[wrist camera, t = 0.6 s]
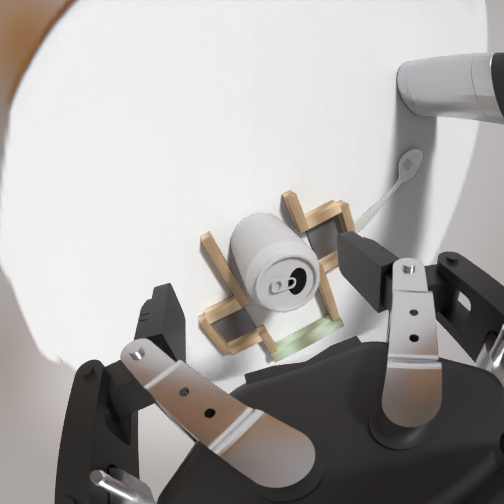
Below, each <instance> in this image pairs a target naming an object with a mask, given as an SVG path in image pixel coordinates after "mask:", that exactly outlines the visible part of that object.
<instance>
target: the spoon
mask: <svg viewBox="0 0 504 504" xmlns="http://www.w3.org/2000/svg"><path fill="white" fill-rule="evenodd" d="M407 159H408V160H409V161H410V162H411V166H410V168H409V170H406V169H405V167H404V162H405V161H406V160H407ZM422 160H423V152H422V151H421V150H420V149H412V150H410V151H408V152H406V153H405V154H404V155H403V156H402V157H401V159H400V161H399V165H398V170H399V179H398V181H397V182H396V184H395V185H394V186H393V187H392V188H391V189H390V190H389V191H388V192H387V193H386V194H385V195H384V197H383V198H382V199H380V200H379V201H378V202H377V203H376V204H374V205H373V206H372V207H371V208H370V209H368V210H367V211H366V212H365V213H364V214H363V215H362V216H361V217H360V218H359V219H358V220H357V221H356V222H355V224H354V226H355V230H356V233H358V232H360V231H361V230H362V229H363V228H364V227H365V226H366V225H367V224H368V222H369V221H370V220H371V219H372V218H373V216H374V215H375V214H376V213H377V212H378V210H379V209H380V208H381V207H382V205H383V204H384V203H385V202H386V200H387V199H388V198H389V197H390V196H391V195H392V193H393V192H394V191H395V190H396V189H397V188H398V187H399V186H400V185H401V184H402V183H404V182H406V181H409V180H411V178H412V177H413V176H414V175H415V173H416V171H417V170H418V168H419V167H420V165H421V163H422Z"/></svg>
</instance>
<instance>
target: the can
mask: <svg viewBox="0 0 504 504" xmlns="http://www.w3.org/2000/svg"><path fill="white" fill-rule="evenodd" d="M231 248H232V253H233V256H234V258H235V261H236V263H237V266H238V269H239V271H240V274H241V277H242V279H243V282H244V284H245V287H246V290H247V292H248V293H249V295H250V297H251V299H252V300H253V301H255V302H256V303H257V304H258V305H260V306H262V307H265V308H267V309H268V310H271V311H274V312H289V311H293V310H296V309H298V308H300V307H301V306H303V305H305V304H306V303H307V302H308V301H309V300H310V299H311V298H312V297H313V295H314V294H315V292H316V291H317V288H318V285H319V282H320V272H319V262H318V259H317V256H316V254H315V253H314V252H313V250H312V249H311V248H310V247H309V246H308V245H307V244H306V243H305V242H304V241H303V240H302V239H301V238H300V237H299V236H297V235H296V234H295V233H294V232H293V231H292V230H291V229H290V228H289V227H288V226H287V225H286V224H285V223H284V222H283V221H282V220H280V219H279V218H278V217H276V216H274V215H272V214H268V213H257V214H252V215H250V216H248V217H246V218H244V219H243V220H242V221H241V222H240V223H239V224H238V225H237V226H236V228H235V230H234V232H233V233H232V238H231Z"/></svg>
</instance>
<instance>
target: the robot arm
mask: <svg viewBox="0 0 504 504" xmlns="http://www.w3.org/2000/svg"><path fill="white" fill-rule="evenodd" d="M397 83H398V89H399V92H400V95H401V97H402V99H403V101H404V103H405V104H406V106H407V107H408V108H409V109H410V110H411V111H412V112H414V113H415V114H417V115H422V116H438V117H451V118H461V119H470V120H478V121H485V122H491V123H498V124H504V53H474V54H460V55H450V56H441V57H434V58H427V59H420V60H414V61H409V62H405V63H403V64H402V65H401V66H400V68H399V70H398V75H397ZM337 252H338V265H339V269H340V271H341V273H342V275H343V276H344V277H345V278H346V279H347V280H348V281H349V282H350V284H351V285H352V286H353V287H354V288H355V289H356V290H357V291H358V292H359V293H360V294H361V295H362V296H363V297H364V298H365V299H366V300H367V302H368V303H369V304H370V305H371V306H372V307H373V308H374V309H375V310H376V311H377V312H378V313H380V312H382V311H384V310H387V309H388V310H389V316H388V327H387V337H386V342H363V343H361V341H360V340H359V339H358V337H357V336H354V337H352V338H350V339H347V340H345V341H342V342H340V343H337V344H335V345H332V346H330V347H329V348H327V349H325V350H324V351H322V352H321V353H319V354H317V355H316V356H314V357H313V358H311V359H309V360H308V361H305V362H301V363H293V364H285V365H277V366H271V367H268V368H265V369H261V370H258V371H254V372H251V373H247V374H244V375H245V379H246V383H245V384H243V385H241V386H240V387H238V388H236V389H235V390H234V391H232V392H231V393H230V394H228V393H226V392H225V391H223V390H222V389H220V388H219V387H217V386H216V385H214V384H213V383H212V382H210V381H209V380H207V379H206V378H205V377H203V376H202V375H200V374H199V373H198V372H196V371H195V370H194V369H192V368H191V367H190V366H188V365H187V364H186V341H185V317H184V313H183V310H182V308H181V306H180V303H179V301H178V299H177V296H176V294H175V292H174V289H173V287H172V285H171V284H170V283H167V284H164V285H160V286H157V287H154V290H153V295H152V299H149V300H147V301H146V302H145V303H144V305H143V306H142V307H141V311H140V316H139V320H138V324H137V328H136V333H135V337H134V341H132V342H130V343H129V344H128V345H126V346H125V347H124V349H123V350H122V352H121V356H120V358H121V360H119V361H117V362H115V363H113V364H110V365H108V366H106V367H104V365H103V364H102V363H101V362H100V361H99V360H90V361H87V362H86V363H84V364H83V365H81V366H80V367H79V369H78V370H77V372H76V374H75V378H74V381H73V386H72V389H71V393H70V397H69V401H68V406H67V410H66V415H65V420H64V425H63V431H62V438H61V443H60V449H59V456H58V465H57V475H56V486H55V504H504V286H503V285H501V284H500V283H499V282H498V281H496V280H495V279H494V278H492V277H491V276H490V275H488V274H487V273H486V272H484V271H483V270H482V269H480V268H479V267H477V266H476V265H474V264H473V263H472V262H470V261H469V260H468V259H466V258H465V257H463V256H462V255H460V254H458V253H455V252H443V253H441V254H439V256H438V261H437V264H436V265H429V266H424V265H423V263H422V262H420V261H419V260H416V259H413V258H402V259H399V258H398V257H396V256H395V255H394V254H392V253H391V252H389V251H388V250H387V249H385V248H384V247H382V246H381V245H379V244H378V243H376V242H375V241H374V240H371V239H368V238H365V237H363V238H362V237H361V236H359V235H358V234H356V233H355V232H354V231H349V232H345V233H342V234H339V235H337ZM460 292H462V293H463V294H464V295H465V296H466V297H467V298H468V299H469V301H470V303H471V310H470V311H469V310H468V309H466V308H465V307H464V306H463V305H462V304H461V303H460V302H459V301H458V297H459V293H460ZM436 320H437V321H438V322H439V323H440V324H441V325H442V326H443V327H444V328H445V329H446V330H447V331H448V332H449V334H450V335H451V336H452V337H453V338H454V339H455V340H456V341H457V342H458V343H459V344H460V346H461V347H462V348H463V349H464V350H465V351H466V353H467V354H468V355H469V356H470V357H471V358H472V360H473V361H474V362H475V363H476V367H474V366H470V365H466V364H462V363H459V362H455V361H451V360H447V359H443V358H439V357H438V341H437V327H436ZM153 403H155V404H156V405H157V406H158V407H159V408H160V410H161V411H162V412H163V413H164V414H165V415H167V417H168V418H169V419H170V420H171V421H172V422H173V423H174V424H176V426H178V428H180V429H181V430H182V431H183V432H184V433H185V434H186V435H187V436H188V437H189V438H190V439H191V440H192V441H193V442H194V443H195V445H194V446H193V448H192V449H191V451H190V452H189V453H188V455H187V456H186V458H185V459H184V461H183V463H182V464H181V465H180V467H179V468H178V470H177V471H176V473H175V474H174V475H173V477H172V478H171V480H170V481H169V482H168V484H167V485H166V487H165V488H164V489H163V491H162V492H161V494H160V496H159V498H158V501H157V503H156V502H155V501H154V499H153V496H152V493H151V490H150V488H149V487H148V485H147V484H146V483H144V482H143V481H141V480H140V478H139V458H138V410H140V409H143V408H145V407H147V406H149V405H152V404H153Z"/></svg>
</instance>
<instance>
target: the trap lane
mask: <svg viewBox="0 0 504 504" xmlns="http://www.w3.org/2000/svg"><path fill="white" fill-rule="evenodd" d="M282 196H283V199H284V201H285V204H286V206H287V208H288V211H289V213H290V216H291V218H292V220H293V223H294V225H295V228H296V229H297V230H298V231H299V232H300V233H303V232H304V231H306V232H307V235H308V237H309V240H310V243H311V245H312V248H313V251H314V253H315V254H316V256H317V259H318V262H319V272H320V282H319V285H318V287H319V290H320V293H321V296H322V298H323V301H324V304H325V307H326V309H327V312H328V315H326V316H324V317H323V318H321V319H319V320H317V321H315V322H314V323H312V324H310V325H308V326H306V327H304V328H302V329H301V330H299V331H297V332H295V333H293V334H291V335H289V336H287V337H285V338H283V339H281V340H279V341H277V342H275V343H274V341H273V340H272V338H271V336H270V335H269V333H268V331H267V330H266V328H265V326H264V325H261V326H259V327H257V328H256V327H255V325H254V323H253V322H252V320H251V319H250V317H249V315H248V314H247V312H246V311H245V309H244V307H246V306H248V305H250V304H249V301H248V298H247V296H246V294H245V293H244V291H243V289H242V288H241V286H240V284H239V282H238V281H237V279H236V277H235V275H234V274H233V272H232V270H231V269H230V267H229V265H228V263H227V262H226V260H225V258H224V256H223V255H222V253H221V251H220V249H219V247H218V246H217V244H216V242H215V240H214V239H213V237H212V235H211V233H210V232H207V233H205V234H203V235H202V236H201V241H202V243H203V245H204V247H205V248H206V250H207V252H208V254H209V255H210V257H211V259H212V260H213V262H214V264H215V265H216V267H217V269H218V270H219V272H220V274H221V275H222V277H223V279H224V280H225V282H226V284H227V285H228V287H229V289H230V290H231V292H232V293H233V296H231V297H229V298H227V299H225V300H223V301H221V302H219V303H217V304H215V305H213V306H211V307H209V308H207V309H205V310H204V313H205V314H203V315H201V316H199V322H200V326H201V327H202V328H203V330H204V331H205V332H206V333H207V335H208V336H209V337H210V339H211V340H212V341H213V342H214V344H215V345H216V346H217V347H218V348H219V350H220V351H221V352H222V353H223V355H227V354H229V353H232V354H236V353H238V352H240V351H242V350H244V349H246V348H249V347H251V346H253V345H255V344H257V343H259V342H261V341H263V343H264V344H265V346H266V347H267V349H268V350H269V352H270V353H271V355H272V358H273V360H274V361H275V363H276V362H278V361H280V360H282V359H284V358H286V357H288V356H290V355H292V354H294V353H296V352H298V351H300V350H302V349H303V348H305V347H307V346H309V345H311V344H313V343H315V342H317V341H318V340H320V339H322V338H324V337H326V336H327V335H329V334H331V333H333V332H335V331H336V330H338V329H340V328H341V327H343V326H344V324H343V321H342V320H341V318H340V317H339V313H338V310H337V307H336V304H335V301H334V298H333V295H332V292H331V288H330V285H329V282H328V280H327V277H326V274H325V272H327V271H329V270H331V269H332V268H334V267H336V266H338V252H337V235H339V234H342V233H345V232H349V231H354V232H355V233H356V230H355V226H354V223H353V219H352V216H351V212H350V209H349V205H348V204H347V203H345V202H343V201H341V200H340V201H339V202H335V201H333V200H332V201H330V202H328V203H326V204H324V205H322V206H320V207H318V208H316V209H314V210H312V211H310V212H308V213H306V214H304V213H303V211H302V208H301V205H300V203H299V200H298V198H297V195H296V193H294V192H292V191H288V192H286V193H284V194H282Z"/></svg>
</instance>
